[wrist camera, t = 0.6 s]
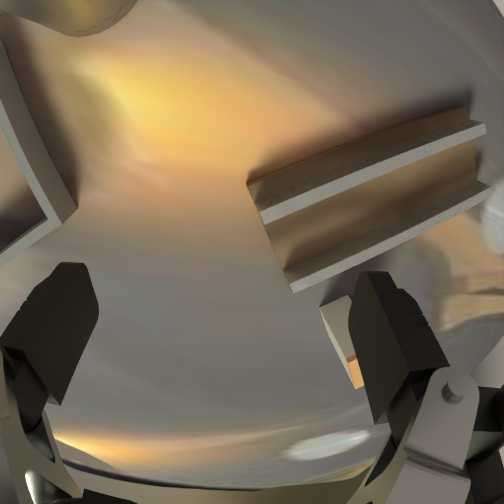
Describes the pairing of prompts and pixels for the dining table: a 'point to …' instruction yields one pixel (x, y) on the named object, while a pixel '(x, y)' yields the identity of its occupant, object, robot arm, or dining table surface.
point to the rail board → (369, 194)
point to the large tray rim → (30, 162)
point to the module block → (342, 336)
